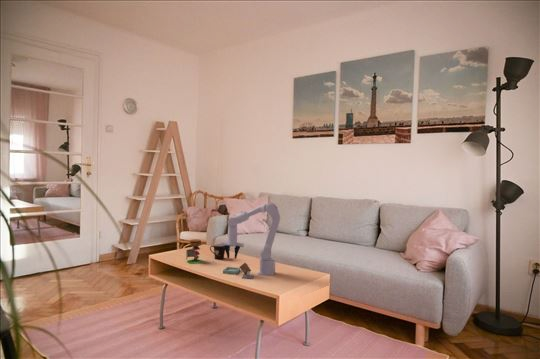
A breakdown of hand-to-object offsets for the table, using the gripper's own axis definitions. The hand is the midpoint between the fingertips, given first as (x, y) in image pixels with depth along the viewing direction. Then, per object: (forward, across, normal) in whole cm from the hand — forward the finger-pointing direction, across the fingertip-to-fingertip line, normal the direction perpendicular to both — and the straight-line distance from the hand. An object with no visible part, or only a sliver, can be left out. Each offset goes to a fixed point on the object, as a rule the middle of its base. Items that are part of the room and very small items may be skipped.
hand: (231, 257), depth 224 cm
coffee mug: (+9, +19, -31) cm, 37 cm away
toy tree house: (+9, +31, -18) cm, 37 cm away
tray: (+9, 0, 0) cm, 9 cm away
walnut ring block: (+6, -12, +8) cm, 16 cm away
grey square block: (+9, -12, +8) cm, 17 cm away
